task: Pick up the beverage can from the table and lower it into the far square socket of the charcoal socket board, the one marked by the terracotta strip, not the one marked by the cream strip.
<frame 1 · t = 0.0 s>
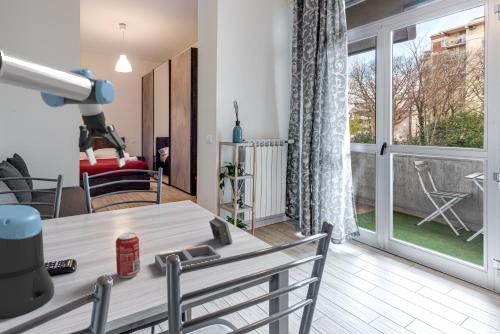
hand: (107, 164, 123), 28 cm above the table, tool tilted 20°, fingers open, 13 cm apart
electrical switch: (221, 241, 119), on the table
socket board: (187, 262, 100), on the table
beverage can: (128, 275, 92), on the table
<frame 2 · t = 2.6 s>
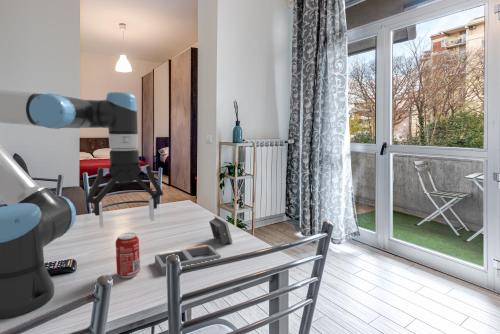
hand: (127, 222, 89), 16 cm above the table, tool pointing down, fingers open, 13 cm apart
nothing on the table moved.
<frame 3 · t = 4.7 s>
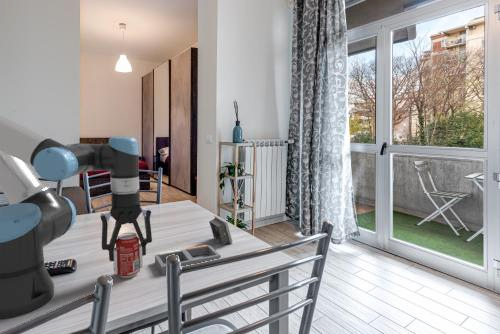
hand: (128, 268, 91), 2 cm above the table, tool pointing down, fingers closed on beverage can, 6 cm apart
beverage can: (128, 275, 91), on the table, touching gripper
everything else where it was.
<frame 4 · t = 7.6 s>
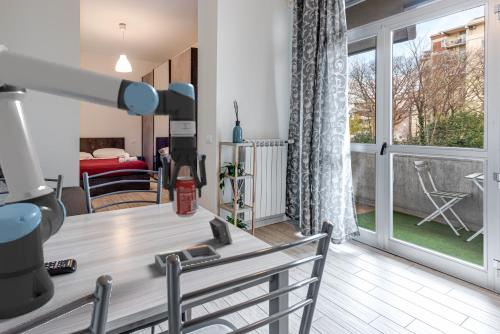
hand: (185, 209, 97), 18 cm above the table, tool pointing down, fingers closed on beverage can, 6 cm apart
beverage can: (186, 215, 97), point 16 cm above the table, touching gripper
everything else where it was.
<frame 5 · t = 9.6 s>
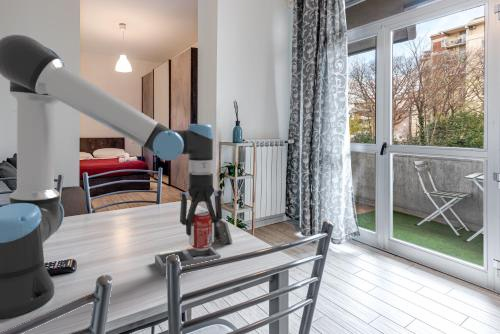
hand: (201, 242, 101), 6 cm above the table, tool pointing down, fingers closed on beverage can, 6 cm apart
beverage can: (201, 248, 102), point 4 cm above the table, touching gripper
everything else where it was.
when the fingers open (4 cm above the table, at t = 10.7 s): beverage can drops 2 cm, resting in socket board.
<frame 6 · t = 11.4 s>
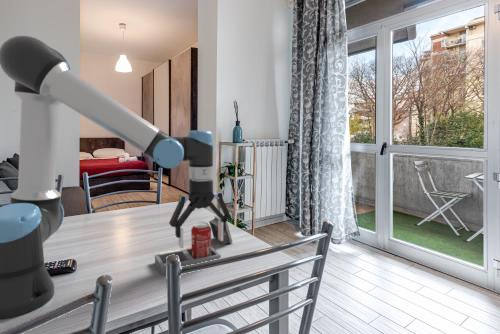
hand: (201, 243, 101), 6 cm above the table, tool pointing down, fingers open, 13 cm apart
beverage can: (201, 260, 102), resting in socket board
everything else where it was.
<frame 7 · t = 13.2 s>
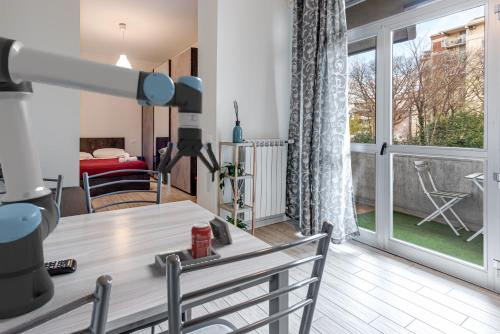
hand: (189, 193, 101), 22 cm above the table, tool pointing down, fingers open, 13 cm apart
nothing on the table moved.
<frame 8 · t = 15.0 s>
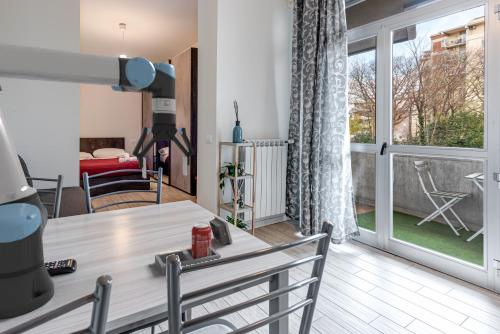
hand: (165, 176, 105), 27 cm above the table, tool pointing down, fingers open, 13 cm apart
nothing on the table moved.
at the end: beverage can 0.1 cm from the target spot on the socket board, point 0.0 cm above the socket board's base; beverage can tilted 0°; the gripper is holding nothing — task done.
